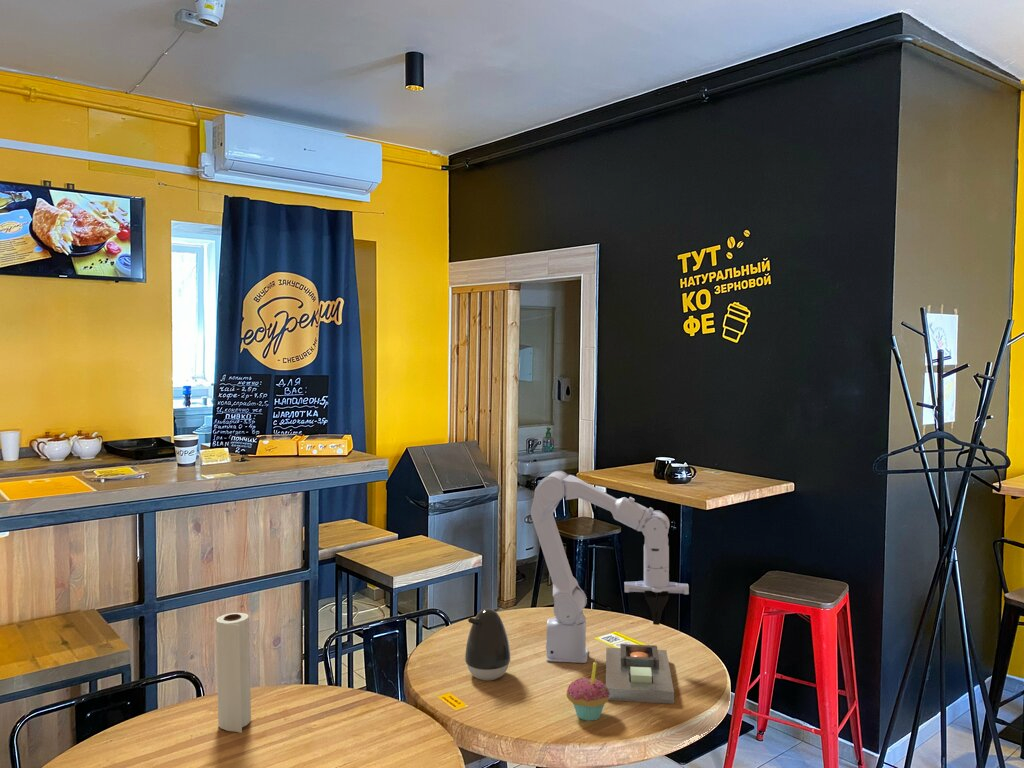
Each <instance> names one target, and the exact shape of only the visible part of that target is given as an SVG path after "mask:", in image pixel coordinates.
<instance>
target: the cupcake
mask: <svg viewBox="0 0 1024 768" xmlns="http://www.w3.org/2000/svg"><path fill="white" fill-rule="evenodd" d="M596 670H597V659H595V660H594V662H593V663H592V671H591V678H588V677H581V678H580V677H579V678H578V679H575V680H574V681H571V682H570V684H569V685H568V687H567V690H566V693H565V695H566V698H567V699H568V701H570V702H571V703H572V705H573V708H574V710H575V713H576V716H577V717H578V718H579V719H580V720H583V721H589V722H591V721H596V720H598V719H600V717H601V716H602V712H603V709H604V706H605V704H606V703H608V701H609V700H608V698H609V696H610V692H609V690H608V688H607V686H606V683H604V682H603V681H600V680H599V679H597V678H596Z"/></svg>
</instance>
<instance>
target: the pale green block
mask: <svg viewBox="0 0 1024 768" xmlns="http://www.w3.org/2000/svg"><path fill="white" fill-rule="evenodd" d="M630 682H633V683H652V673H651V668H648V667H630Z"/></svg>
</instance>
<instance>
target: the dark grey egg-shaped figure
mask: <svg viewBox="0 0 1024 768" xmlns="http://www.w3.org/2000/svg"><path fill="white" fill-rule="evenodd" d="M467 621H468V623H469V624H471V626H470V630H469V632H468V636H467V641H466V647H465V654H464V655H465V656H464V657H465V658H464V659H465V661H464V662H465V663H466V665H467V668H468V670H469V672H470V674H471V675H472V676H473V677H475V678H476V679H478V680H481V681H494V680H498V679H500V678H501V677H503V675H505V673H507V670H508V668H509V664H510V662H511V658H512V657H511V650H510V643H509V638H508V633H507V631H506V627H505V625H504V622H503V621H502V618H501V616H500V615H499V613H498V612H497V611H495V610H494V609H491V608H484V609H481V610H480V611H479V612H478V613H477V614H476V616H475V617H468V619H467Z"/></svg>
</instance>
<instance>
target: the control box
mask: <svg viewBox="0 0 1024 768" xmlns="http://www.w3.org/2000/svg"><path fill="white" fill-rule="evenodd" d="M605 650H606V651H605V653H606V655H605V657H606V658H605V659H606V660H605V663H606V664H605V685H606V686H607V688H608V690H609V692H610V696H609V698H608V701H612V702H613V701H615V702H635V703H637V702H638V703H650V704H651V703H653V704H669V705H671V704H675V690H674V689H675V688H674V685H673V678H672V674H671V669H670V662H669V658H668V653H667V649H658V645H650V644H629V643H628V644H627V643H620V647H606V649H605ZM633 652H644V653H646V654H648V657H630V654H631V653H633ZM630 667H648V668H651V673H652V683H633V682H630Z"/></svg>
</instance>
